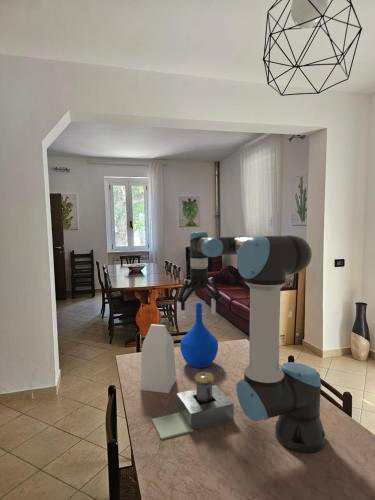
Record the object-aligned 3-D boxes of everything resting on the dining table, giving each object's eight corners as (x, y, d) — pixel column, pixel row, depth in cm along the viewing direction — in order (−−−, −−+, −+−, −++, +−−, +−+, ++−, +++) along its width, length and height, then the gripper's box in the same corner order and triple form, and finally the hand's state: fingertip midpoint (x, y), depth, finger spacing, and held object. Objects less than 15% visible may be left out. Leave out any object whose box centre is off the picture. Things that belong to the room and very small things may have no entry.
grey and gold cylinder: (216, 417, 117) (216, 378, 115) (199, 421, 114) (199, 382, 113) (208, 407, 123) (208, 370, 122) (192, 411, 120) (192, 373, 119)
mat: (193, 431, 109) (193, 429, 109) (161, 439, 105) (161, 438, 105) (181, 413, 119) (181, 411, 119) (151, 420, 115) (151, 418, 115)
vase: (186, 374, 149) (185, 310, 146) (176, 358, 166) (175, 300, 164) (223, 369, 154) (223, 307, 151) (210, 354, 171) (210, 298, 169)
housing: (233, 419, 115) (233, 403, 114) (191, 430, 109) (190, 413, 109) (215, 399, 128) (215, 385, 127) (176, 408, 122) (176, 393, 122)
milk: (140, 389, 136) (139, 328, 134) (150, 377, 147) (149, 320, 145) (168, 393, 133) (167, 330, 131) (176, 379, 144) (175, 321, 142)
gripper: (220, 264, 150) (220, 310, 152) (168, 268, 141) (169, 316, 143) (228, 266, 143) (228, 314, 145) (174, 270, 134) (175, 321, 136)
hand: (199, 315), depth 144 cm, fingers open, 13 cm apart
